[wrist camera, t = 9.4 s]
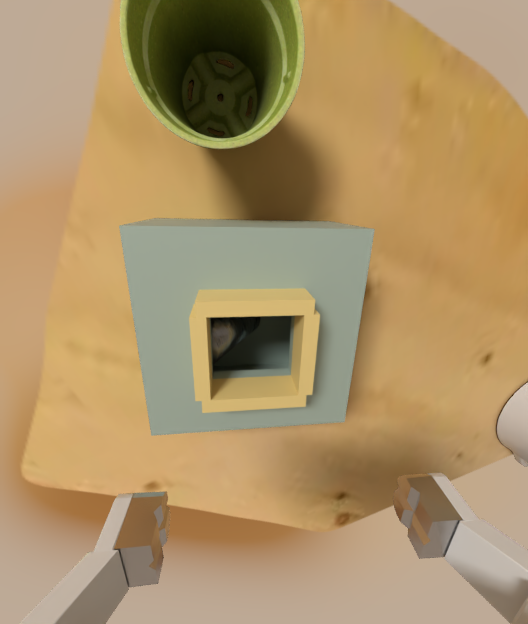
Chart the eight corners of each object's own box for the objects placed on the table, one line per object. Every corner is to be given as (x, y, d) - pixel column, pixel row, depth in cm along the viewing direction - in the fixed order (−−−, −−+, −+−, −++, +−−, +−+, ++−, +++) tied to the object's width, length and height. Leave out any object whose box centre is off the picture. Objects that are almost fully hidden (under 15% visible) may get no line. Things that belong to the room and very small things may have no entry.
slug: (260, 298, 25) (215, 329, 20) (260, 336, 27) (220, 372, 22) (224, 289, 27) (177, 315, 22) (227, 325, 29) (184, 356, 24)
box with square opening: (329, 221, 27) (395, 232, 16) (314, 366, 33) (356, 445, 22) (155, 218, 25) (101, 228, 14) (172, 372, 31) (142, 462, 20)
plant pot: (267, 177, 25) (285, 164, 17) (156, 153, 23) (118, 127, 15) (288, 45, 22) (324, -47, 14) (162, 8, 20) (119, -121, 12)
